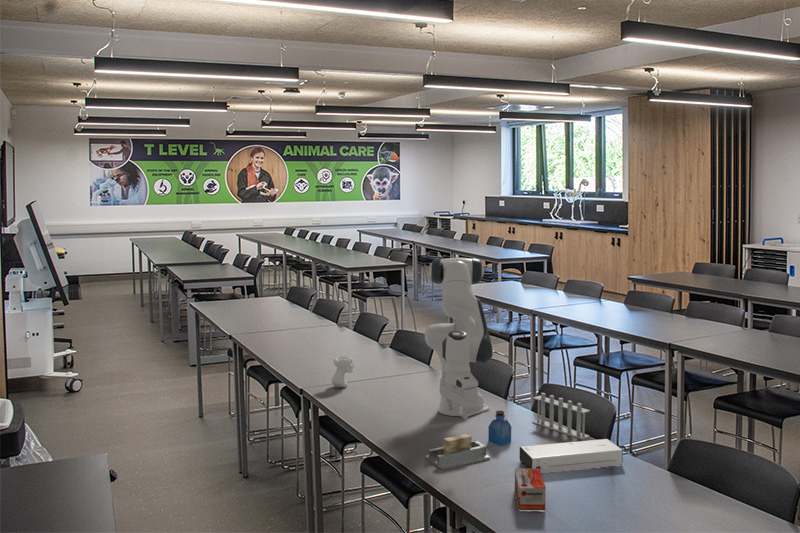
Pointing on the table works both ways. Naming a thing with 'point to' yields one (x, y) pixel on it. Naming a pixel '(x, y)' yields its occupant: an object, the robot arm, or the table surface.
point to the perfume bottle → (499, 430)
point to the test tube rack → (561, 416)
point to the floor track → (457, 456)
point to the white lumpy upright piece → (342, 370)
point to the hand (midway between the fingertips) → (457, 414)
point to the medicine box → (529, 489)
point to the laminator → (571, 455)
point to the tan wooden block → (457, 443)
